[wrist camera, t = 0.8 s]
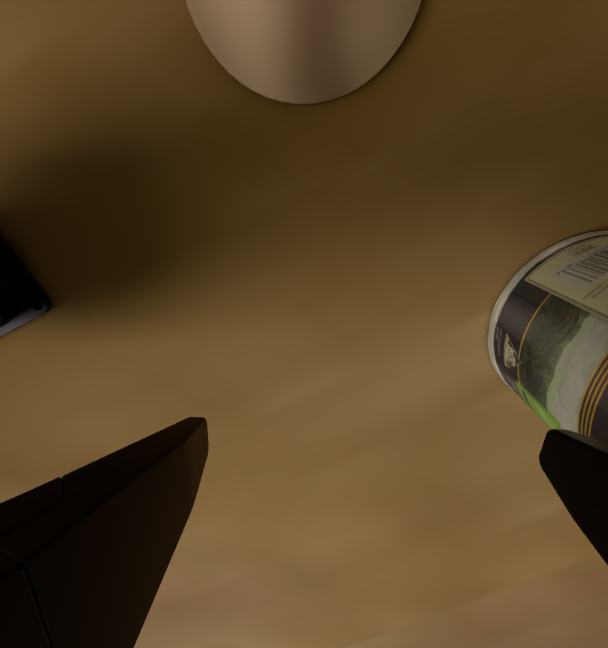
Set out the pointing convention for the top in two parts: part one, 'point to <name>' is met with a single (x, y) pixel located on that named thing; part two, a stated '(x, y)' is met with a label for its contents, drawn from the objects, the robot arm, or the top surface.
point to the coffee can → (558, 335)
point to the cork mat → (303, 43)
